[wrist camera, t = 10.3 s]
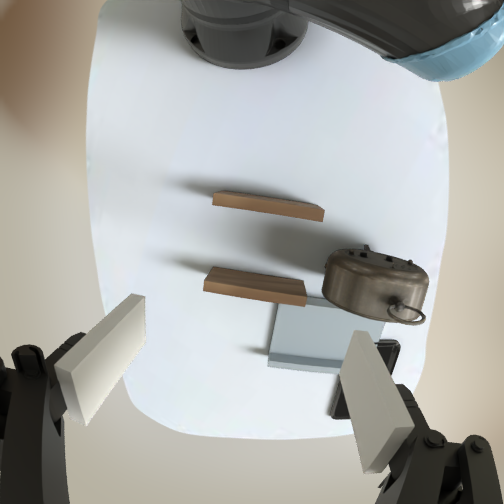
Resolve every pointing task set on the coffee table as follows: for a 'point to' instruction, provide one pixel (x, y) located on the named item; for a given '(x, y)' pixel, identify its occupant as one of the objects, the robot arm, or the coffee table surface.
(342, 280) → the alarm clock
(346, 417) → the phone
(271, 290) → the channel
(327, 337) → the cradle
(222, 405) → the coffee table surface
